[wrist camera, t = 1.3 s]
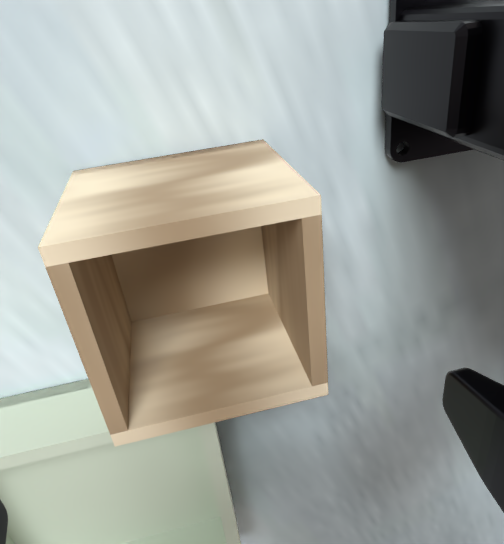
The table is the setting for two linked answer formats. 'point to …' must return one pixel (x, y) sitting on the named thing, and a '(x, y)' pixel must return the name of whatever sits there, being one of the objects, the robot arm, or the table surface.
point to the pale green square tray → (107, 477)
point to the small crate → (192, 286)
